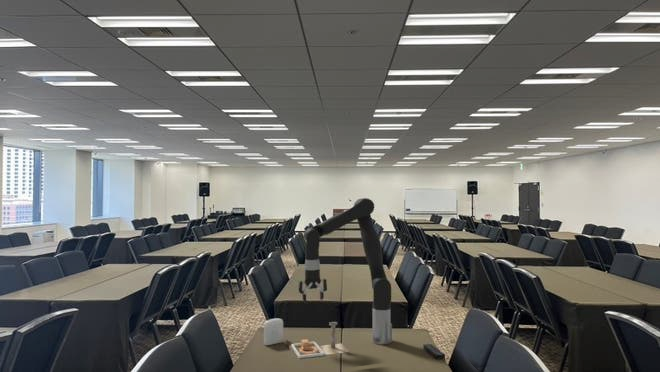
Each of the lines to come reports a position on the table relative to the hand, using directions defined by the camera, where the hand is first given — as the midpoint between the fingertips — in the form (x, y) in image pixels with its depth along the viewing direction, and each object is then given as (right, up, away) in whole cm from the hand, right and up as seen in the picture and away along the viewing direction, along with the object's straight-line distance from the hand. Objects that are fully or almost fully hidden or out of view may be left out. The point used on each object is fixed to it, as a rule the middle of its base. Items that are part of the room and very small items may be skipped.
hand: (313, 300), depth 207 cm
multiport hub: (+58, -23, -10) cm, 64 cm away
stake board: (+11, -23, -8) cm, 26 cm away
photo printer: (-20, -23, +4) cm, 31 cm away
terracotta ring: (-2, -22, -10) cm, 24 cm away
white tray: (-2, -23, -11) cm, 25 cm away
